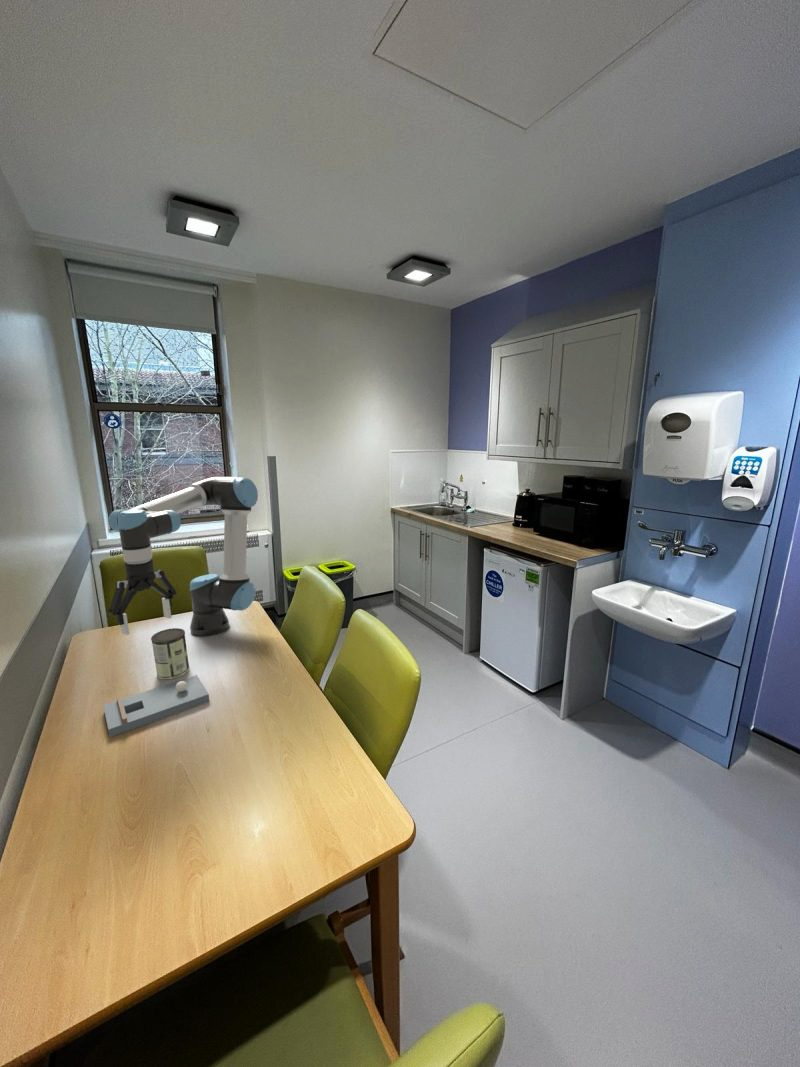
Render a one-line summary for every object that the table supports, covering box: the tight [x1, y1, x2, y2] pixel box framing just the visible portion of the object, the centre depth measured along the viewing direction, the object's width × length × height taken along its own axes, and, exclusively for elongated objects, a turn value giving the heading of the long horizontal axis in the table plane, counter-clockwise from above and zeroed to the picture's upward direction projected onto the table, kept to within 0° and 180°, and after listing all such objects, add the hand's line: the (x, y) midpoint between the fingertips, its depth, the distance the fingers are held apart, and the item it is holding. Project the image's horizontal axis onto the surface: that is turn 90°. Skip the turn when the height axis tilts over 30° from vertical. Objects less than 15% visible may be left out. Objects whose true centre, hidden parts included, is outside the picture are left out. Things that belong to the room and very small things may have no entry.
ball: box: [176, 681, 187, 692], centre depth 134 cm, size 3×3×3 cm
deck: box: [102, 674, 210, 738], centre depth 130 cm, size 26×14×4 cm, turn 129°
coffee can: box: [150, 627, 190, 680], centre depth 148 cm, size 10×10×14 cm
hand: (147, 625), depth 136 cm, fingers open, 13 cm apart
